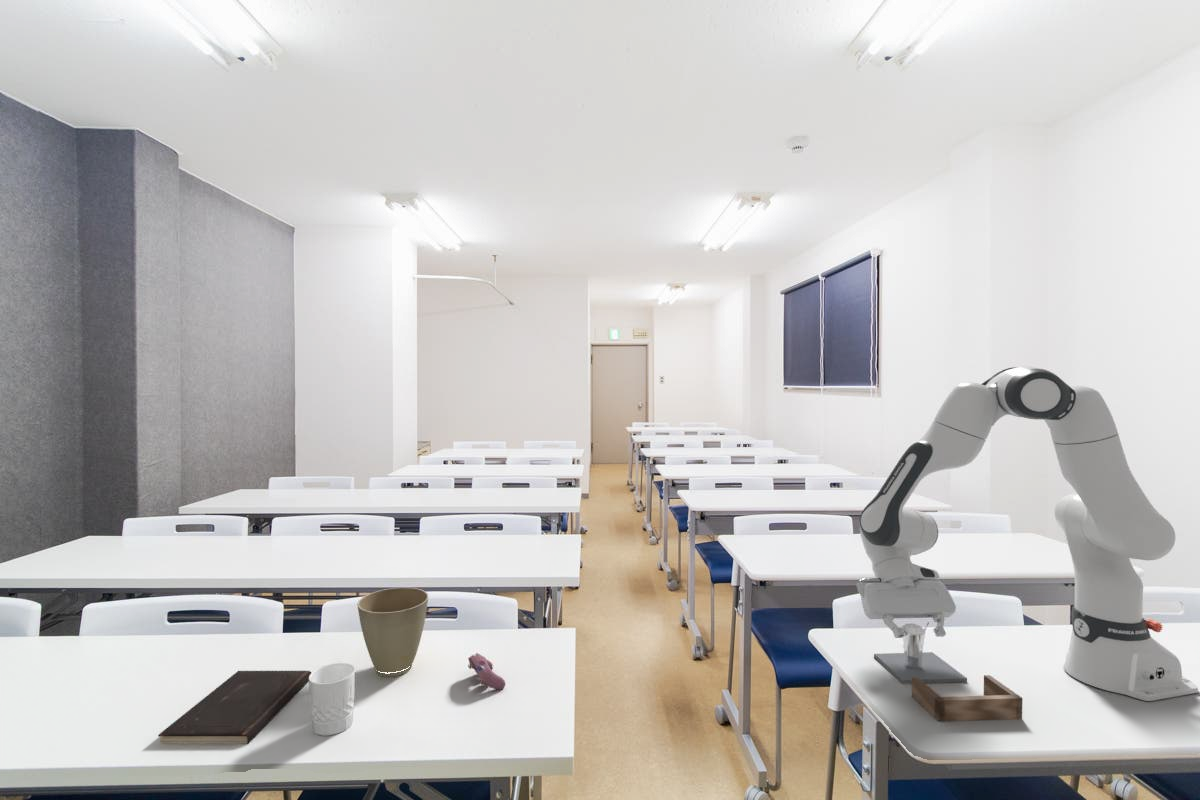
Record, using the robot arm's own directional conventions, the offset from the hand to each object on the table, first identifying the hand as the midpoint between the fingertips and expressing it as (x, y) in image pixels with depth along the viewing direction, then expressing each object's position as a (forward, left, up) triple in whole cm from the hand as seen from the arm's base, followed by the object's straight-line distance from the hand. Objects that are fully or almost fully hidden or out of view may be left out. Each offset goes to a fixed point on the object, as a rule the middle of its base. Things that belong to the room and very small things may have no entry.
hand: (920, 636), depth 129 cm
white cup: (+122, +14, -8) cm, 123 cm away
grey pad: (0, -1, -8) cm, 8 cm away
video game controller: (+96, 0, -8) cm, 96 cm away
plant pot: (+117, -7, -8) cm, 117 cm away
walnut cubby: (0, +15, -8) cm, 17 cm away
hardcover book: (+142, +7, -8) cm, 143 cm away
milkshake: (+1, -1, -7) cm, 7 cm away
